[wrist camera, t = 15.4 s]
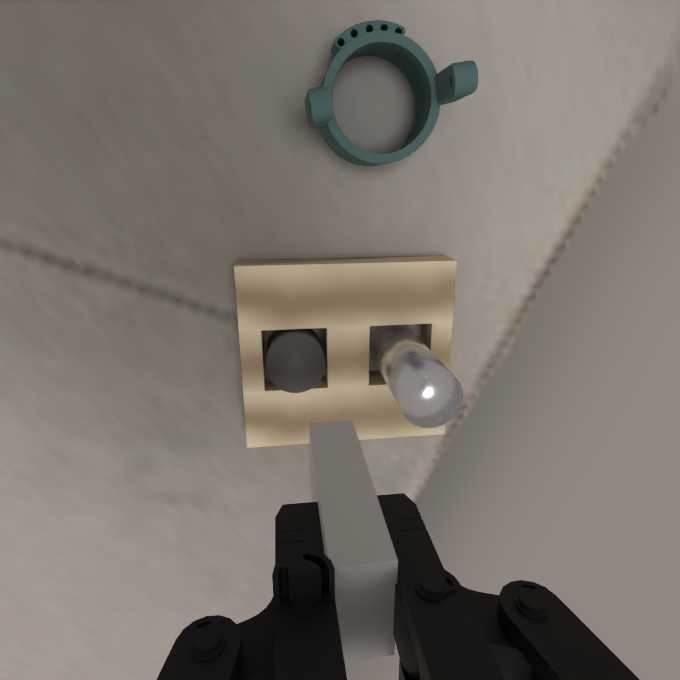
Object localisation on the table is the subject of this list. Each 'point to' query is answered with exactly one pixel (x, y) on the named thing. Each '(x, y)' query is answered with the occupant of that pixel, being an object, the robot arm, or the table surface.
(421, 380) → the metal cylinder
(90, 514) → the table surface
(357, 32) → the bracket
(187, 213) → the table surface
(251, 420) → the jig
